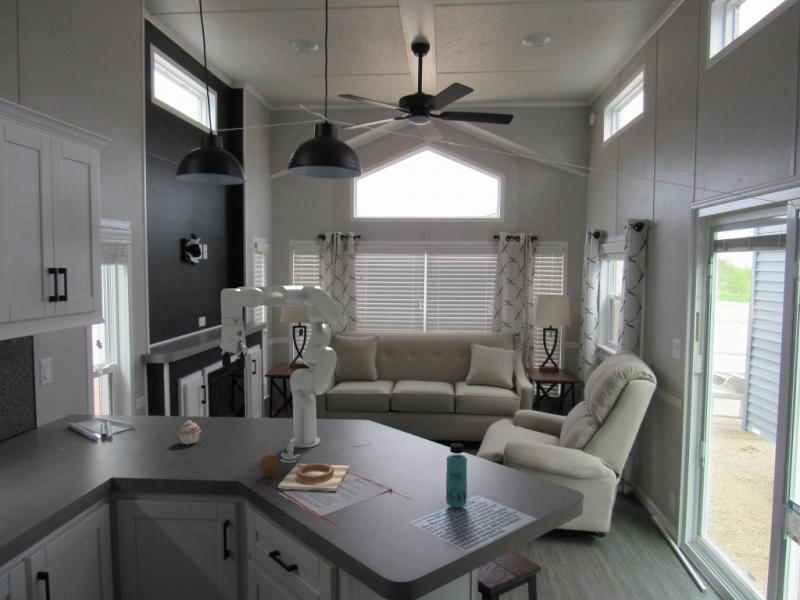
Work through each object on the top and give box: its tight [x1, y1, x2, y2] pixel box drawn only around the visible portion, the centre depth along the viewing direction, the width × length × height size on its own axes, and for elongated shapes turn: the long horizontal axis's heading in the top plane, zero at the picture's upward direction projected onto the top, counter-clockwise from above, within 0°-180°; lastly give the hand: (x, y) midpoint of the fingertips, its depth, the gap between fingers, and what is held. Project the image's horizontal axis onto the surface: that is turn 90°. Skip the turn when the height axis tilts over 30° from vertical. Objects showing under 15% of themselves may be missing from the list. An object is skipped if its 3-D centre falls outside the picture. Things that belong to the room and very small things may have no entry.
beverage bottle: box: [445, 442, 468, 508], centre depth 166 cm, size 6×7×20 cm
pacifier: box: [280, 443, 300, 464], centre depth 208 cm, size 7×6×6 cm
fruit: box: [259, 454, 279, 478], centre depth 192 cm, size 6×6×8 cm
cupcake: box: [177, 419, 202, 445], centre depth 229 cm, size 9×9×10 cm
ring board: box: [277, 462, 351, 492], centre depth 190 cm, size 20×20×3 cm
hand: (233, 367), depth 201 cm, fingers open, 9 cm apart
